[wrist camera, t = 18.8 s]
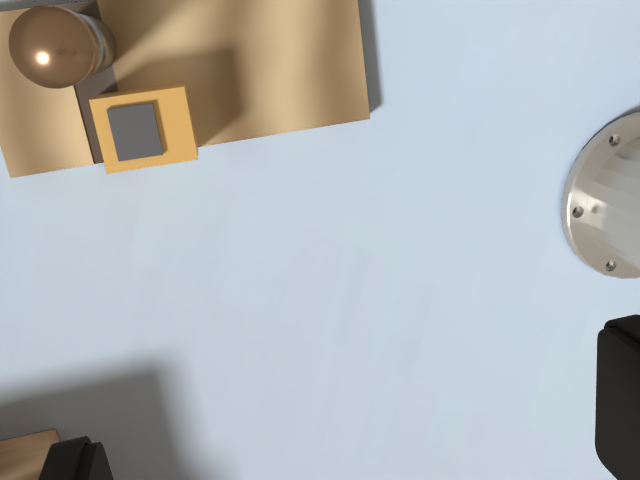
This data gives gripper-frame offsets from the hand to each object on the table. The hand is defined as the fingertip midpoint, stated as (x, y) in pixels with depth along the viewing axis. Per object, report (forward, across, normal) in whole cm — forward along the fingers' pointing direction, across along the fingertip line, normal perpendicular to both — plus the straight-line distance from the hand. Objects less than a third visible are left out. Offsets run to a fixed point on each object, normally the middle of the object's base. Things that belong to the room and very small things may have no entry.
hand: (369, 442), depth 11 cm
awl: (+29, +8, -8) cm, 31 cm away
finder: (+29, +5, -3) cm, 30 cm away
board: (+30, +3, -6) cm, 31 cm away
